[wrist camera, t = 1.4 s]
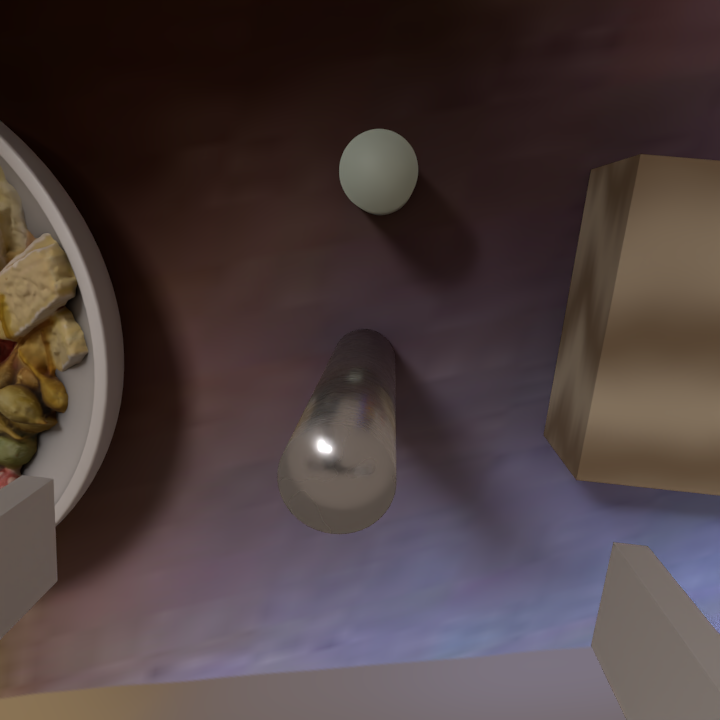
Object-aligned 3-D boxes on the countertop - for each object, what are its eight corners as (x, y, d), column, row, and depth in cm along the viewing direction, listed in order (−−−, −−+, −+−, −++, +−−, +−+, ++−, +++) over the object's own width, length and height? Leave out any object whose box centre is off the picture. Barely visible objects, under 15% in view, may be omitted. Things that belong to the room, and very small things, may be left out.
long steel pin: (336, 326, 32) (280, 417, 16) (398, 332, 32) (402, 430, 16) (331, 385, 33) (274, 527, 17) (391, 391, 32) (390, 540, 17)
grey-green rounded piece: (351, 142, 29) (342, 125, 25) (417, 148, 29) (422, 132, 24) (345, 212, 30) (336, 208, 25) (410, 218, 30) (413, 215, 25)
